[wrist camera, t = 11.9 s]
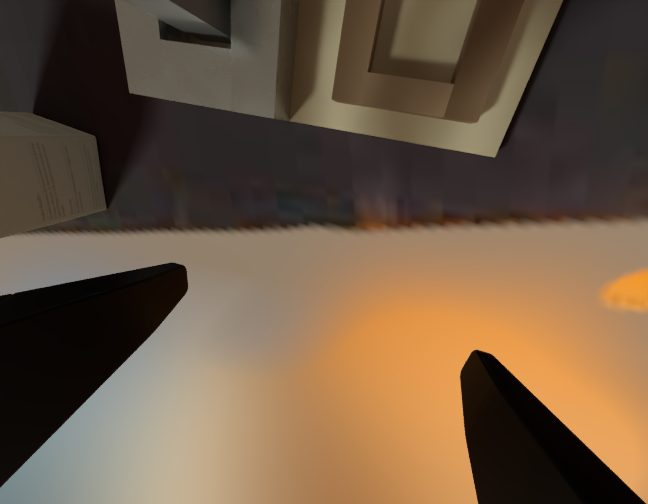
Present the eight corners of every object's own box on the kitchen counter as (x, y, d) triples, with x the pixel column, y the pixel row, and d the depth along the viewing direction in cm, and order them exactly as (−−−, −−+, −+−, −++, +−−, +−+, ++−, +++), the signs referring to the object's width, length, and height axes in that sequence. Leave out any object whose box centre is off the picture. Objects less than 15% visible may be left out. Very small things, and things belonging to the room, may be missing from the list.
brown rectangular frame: (557, -114, 11) (581, -149, 9) (470, 123, 15) (477, 122, 13) (370, -118, 12) (367, -150, 11) (336, 102, 16) (331, 99, 15)
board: (616, -146, 11) (637, -172, 10) (489, 156, 16) (494, 157, 15) (132, -149, 14) (114, -168, 13) (160, 97, 20) (149, 96, 19)
